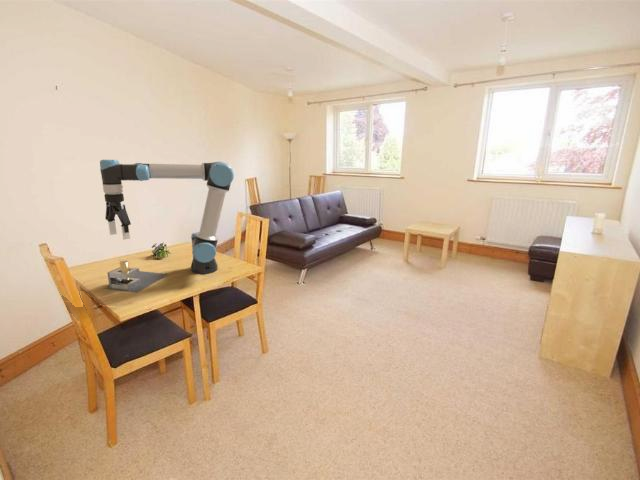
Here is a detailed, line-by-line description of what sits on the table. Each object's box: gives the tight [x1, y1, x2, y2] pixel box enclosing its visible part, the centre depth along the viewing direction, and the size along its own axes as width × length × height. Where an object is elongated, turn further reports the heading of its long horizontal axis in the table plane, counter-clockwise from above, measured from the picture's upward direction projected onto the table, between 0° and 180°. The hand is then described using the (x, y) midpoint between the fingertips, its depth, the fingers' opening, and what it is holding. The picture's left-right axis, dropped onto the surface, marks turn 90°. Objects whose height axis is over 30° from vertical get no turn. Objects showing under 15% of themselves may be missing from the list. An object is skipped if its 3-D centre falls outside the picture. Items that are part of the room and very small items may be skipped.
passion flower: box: [151, 241, 171, 260], centre depth 204 cm, size 11×11×12 cm
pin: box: [119, 260, 130, 284], centre depth 157 cm, size 4×4×13 cm
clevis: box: [107, 266, 141, 290], centre depth 157 cm, size 10×9×8 cm
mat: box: [103, 270, 170, 293], centre depth 165 cm, size 19×25×1 cm
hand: (120, 236), depth 152 cm, fingers open, 13 cm apart
